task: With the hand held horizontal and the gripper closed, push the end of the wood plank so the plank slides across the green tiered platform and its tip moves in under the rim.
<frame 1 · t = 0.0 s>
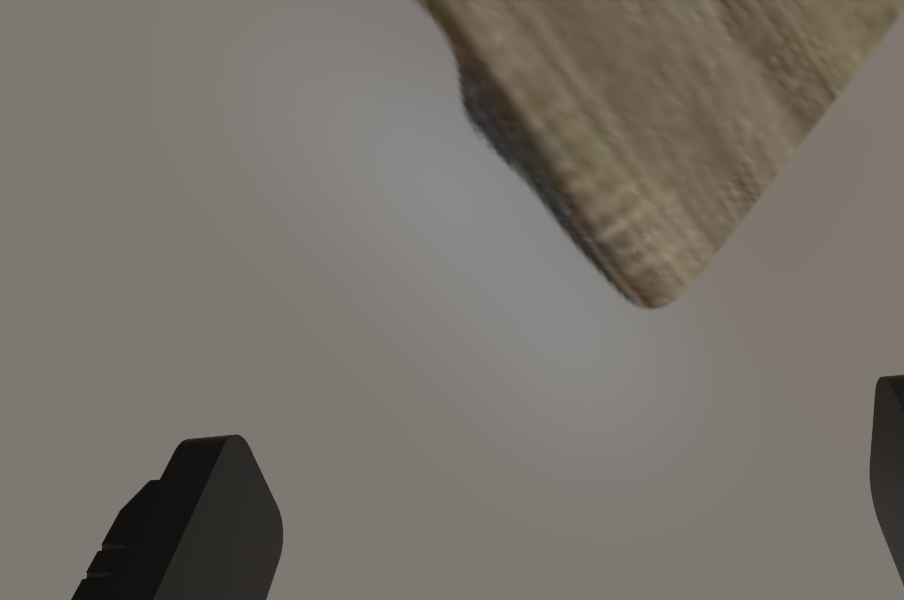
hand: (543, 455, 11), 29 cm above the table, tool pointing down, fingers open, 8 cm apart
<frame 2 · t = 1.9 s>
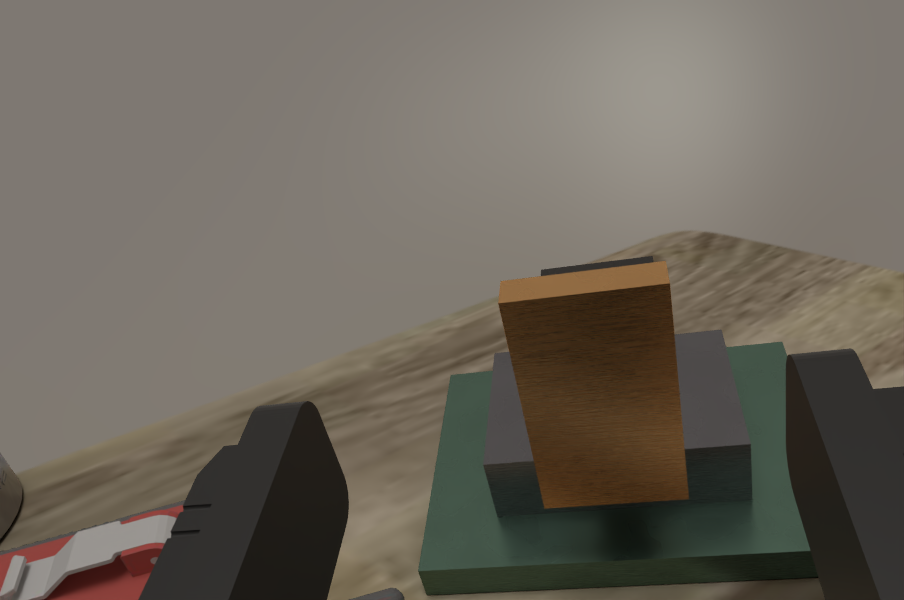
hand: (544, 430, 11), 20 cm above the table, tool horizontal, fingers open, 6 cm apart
green tiered platform: (619, 470, 37), on the table
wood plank: (596, 331, 31), point 9 cm above the table, slide at 0.0 cm
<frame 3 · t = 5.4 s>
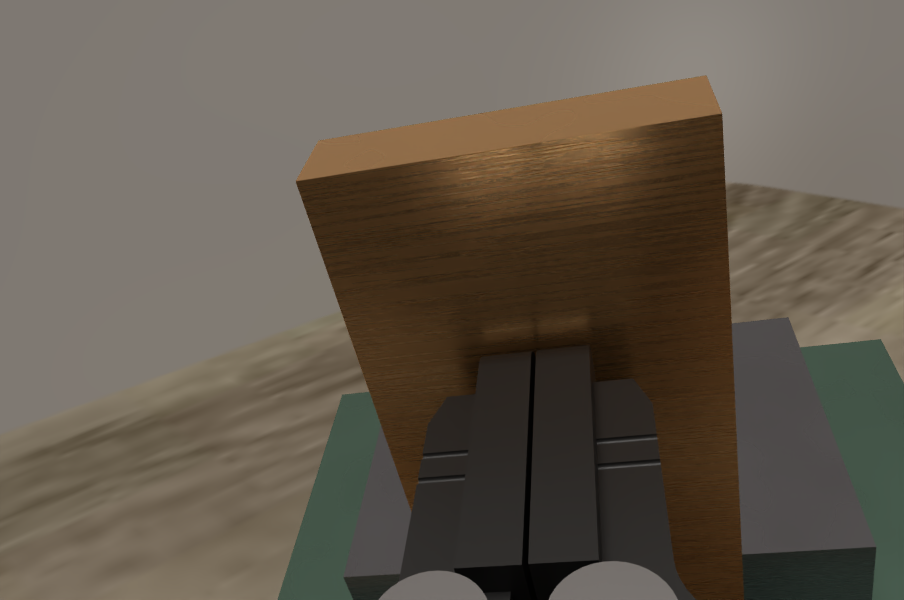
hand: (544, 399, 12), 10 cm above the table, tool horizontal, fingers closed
green tiered platform: (610, 565, 21), on the table
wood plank: (555, 279, 16), point 9 cm above the table, slide at 1.2 cm, touching gripper
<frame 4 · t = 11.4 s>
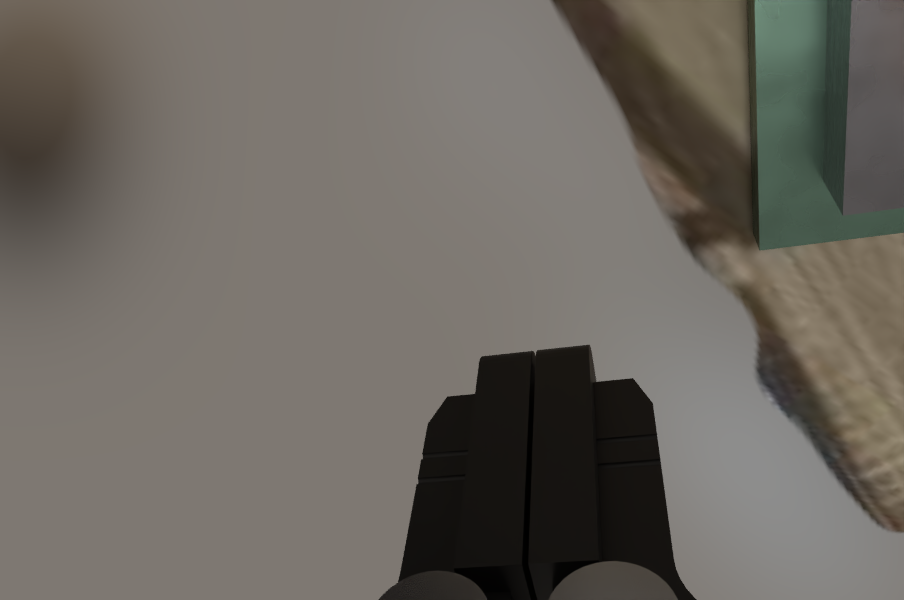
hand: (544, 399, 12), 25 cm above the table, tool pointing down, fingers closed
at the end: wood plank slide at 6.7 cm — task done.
